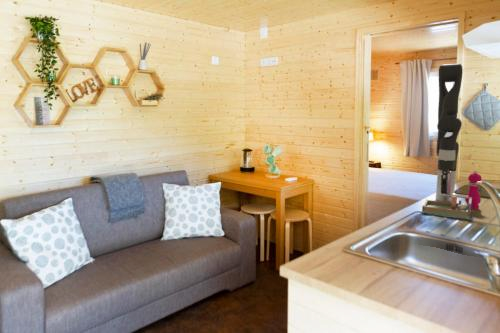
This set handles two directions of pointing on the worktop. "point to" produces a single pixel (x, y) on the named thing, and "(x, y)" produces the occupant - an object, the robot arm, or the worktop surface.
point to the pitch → (446, 209)
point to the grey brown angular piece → (453, 197)
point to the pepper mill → (474, 190)
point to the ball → (463, 207)
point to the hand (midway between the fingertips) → (443, 192)
